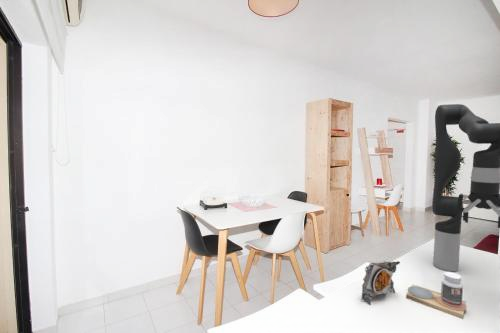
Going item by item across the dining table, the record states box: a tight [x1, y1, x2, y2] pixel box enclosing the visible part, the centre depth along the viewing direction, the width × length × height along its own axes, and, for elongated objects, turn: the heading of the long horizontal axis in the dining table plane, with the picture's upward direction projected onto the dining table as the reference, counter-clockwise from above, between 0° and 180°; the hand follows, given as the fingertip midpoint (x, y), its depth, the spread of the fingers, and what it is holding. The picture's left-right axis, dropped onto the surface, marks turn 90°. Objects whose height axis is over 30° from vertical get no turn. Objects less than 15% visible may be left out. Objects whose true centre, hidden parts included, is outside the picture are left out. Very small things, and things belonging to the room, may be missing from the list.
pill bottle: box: [440, 271, 464, 307], centre depth 86 cm, size 6×6×10 cm
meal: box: [361, 260, 401, 306], centre depth 92 cm, size 15×4×13 cm, turn 115°
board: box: [405, 283, 467, 319], centre depth 89 cm, size 10×16×1 cm, turn 45°
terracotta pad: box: [437, 296, 467, 312], centre depth 86 cm, size 8×8×1 cm
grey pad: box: [407, 285, 434, 299], centre depth 93 cm, size 8×8×1 cm
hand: (482, 224), depth 89 cm, fingers open, 8 cm apart
